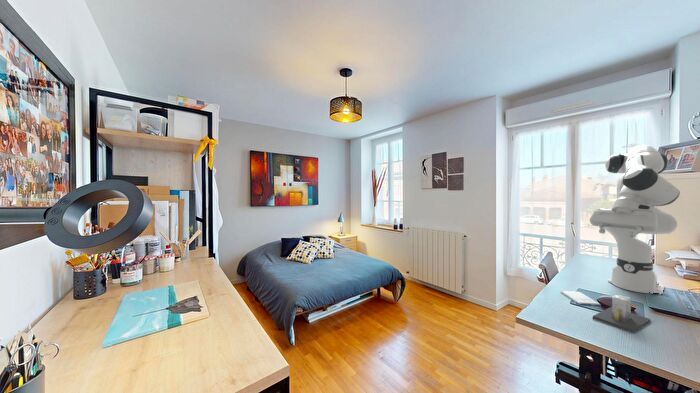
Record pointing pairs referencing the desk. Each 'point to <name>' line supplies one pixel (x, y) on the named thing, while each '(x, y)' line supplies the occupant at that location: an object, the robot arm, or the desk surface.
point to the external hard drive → (579, 297)
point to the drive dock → (629, 325)
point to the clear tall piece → (622, 306)
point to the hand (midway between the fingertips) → (616, 234)
